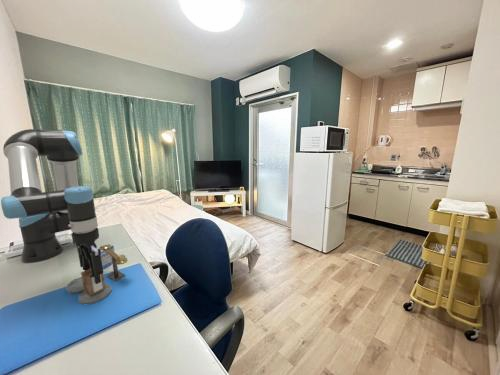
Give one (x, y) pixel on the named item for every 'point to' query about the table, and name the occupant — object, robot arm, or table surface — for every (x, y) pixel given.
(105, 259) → the medicine box
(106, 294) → the dish
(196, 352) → the table surface
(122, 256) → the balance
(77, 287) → the dish
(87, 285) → the block
